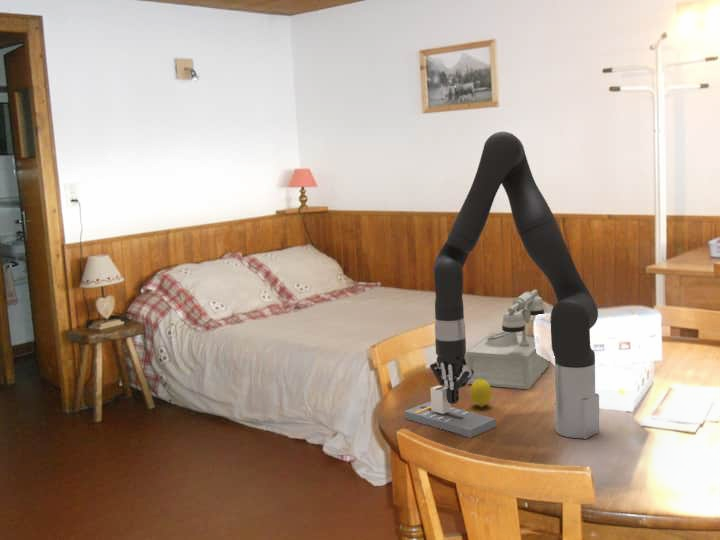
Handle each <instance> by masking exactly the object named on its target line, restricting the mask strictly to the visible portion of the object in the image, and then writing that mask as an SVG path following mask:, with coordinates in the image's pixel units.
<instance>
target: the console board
mask: <svg viewBox="0 0 720 540" xmlns="http://www.w3.org/2000/svg"><path fill="white" fill-rule="evenodd" d="M404 419H405V420H408V421H411V420H412V421H413V422H415V423H418V424H421V423H422V425H425V424H426V425H425V426H428V425H430V426H429V427H432V426H433V427H432V428H435V427H436V429H438V428H440V429H439V430H442V429H444V430H443V431H445V430H447V431H446V432H448V431H452V432H454V433H453V434H455V433H457V434H456V435H458V434H460V435H459V436H462V435H463V436H462V437H465V436H466V438H468V437H469V439H471V438H473V436H474V437H475V436H478V435H480V434H483V433H485V432H487V431H490V430H492V429H493V428H496V427H497V419H496V418H494V417H491V416H486V415H483V414H478V413H475V412H471V411H468V410H465V409H460V408H457V407H453V406H451V411H449V412H447V413H444V414H441V413H438V412H434V411H431V400H430V401H428V402H425V403H422V404H420V405H417V406H414V407H412V408H409V409H406V410H404ZM412 421H411V422H412ZM452 432H451V433H452ZM482 432H483V433H482Z"/></svg>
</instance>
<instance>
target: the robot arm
mask: <svg viewBox="0 0 720 540" xmlns="http://www.w3.org/2000/svg"><path fill="white" fill-rule="evenodd" d="M501 185H502V187H503V188H504V189H503V190H504V191H505V193H506V196H507V199H508V201H509V202H508V203H509V205H510V211H511V215H512V219H513V222H514V225H515V228H516V230H517V234H518V236H519V238H520V240H521V242H522V245H523V247H524V250H525V251H526V253H527V254H528V256H529V257H530V259H531V260H532V262H534V264H535V265H536V266H537V267H538V268H539V270H540V271H541V272H542V273H543V274H544V275H545V277H546V278H547V280H548V281H549V283H550V285H551V287H552V289H553V292H554V294H555V296H556V300H557V303H555V304H554V305H553V307H552V310H551V312H550V323H551V330H550V340H551V350H552V353H553V354H554V356H555V358H554V378H555V379H554V381H555V384H554V385H555V391H554V392H555V428H556V429H555V431H556V434H559V435H560V436H562V437H567V438H571V439H572V438H573V439H585V440H586V439H587V440H588V439H589V438H590V437H593V436H594V435H597V434H598V433H600V395H599V393H596V353H595V351H594V350H593V348H592V347H591V332H590V331H591V328H593V327H594V325H596V322H597V321H598V317H599V310H598V306H597V304H596V302H595V299H594V297H593V296H592V295H591V293H590V291H589V289H588V288H587V285H586V284H585V282H584V281H583V279H582V276H581V275H580V273H579V272H578V269H577V268H576V265H575V262H574V260H573V257H572V255H571V253H570V251H569V248H568V245H567V243H566V241H565V239H564V236H563V234H562V231H561V229H560V226H559V225H558V222H557V220H556V218H555V216H554V214H553V212H552V210H551V208H550V206H549V203H548V202H547V200H546V199H545V197H544V195H543V194H542V192H541V191H540V189H539V187H538V185H537V183H536V181H535V179H534V175H533V173H532V171H531V168H530V164H529V160H528V157H527V155H526V151H525V148H524V145H523V143H522V141H521V140H520V139H519V138H518V137H517V136H516V135H515V134H513V133H511V132H508V131H498V132H495V133H493V134H491V135H490V136H489V137H488V138H487V139H486V141H485V142H484V145H483V150H482V152H481V156H480V159H479V162H478V165H477V171H476V173H475V176H474V178H473V182H472V183H471V187H470V189H469V191H468V193H467V195H466V198H465V200H464V201H463V203H462V206H461V208H460V210H459V212H458V214H457V216H456V218H455V220H454V222H453V225H452V227H451V229H450V230H449V233H448V236H447V239H446V241H445V243H444V244H443V246H442V247H441V249H440V251H439V252H438V255H437V257H436V259H435V261H434V264H433V268H432V270H433V278H434V279H433V280H434V289H435V290H434V291H435V293H434V294H435V299H434V316H435V318H434V319H435V323H434V338H435V339H434V341H435V343H434V345H435V355H437V357H436V361H435V362H434V363H431V364H429V368H430V369H431V371H432V374H433V375H434V376H435V378H436V380H437V382H438V383H439V386H445V388H446V393H447V400H448V403H451V405H455V404H457V403H458V402H459V400H460V394H459V393H460V392H459V389H461V388H465V386H466V385H468V384H467V382H468V381H469V379H470V378H471V376H472V375H473V374H474V371H473V370H472V369H471V370H469V369H468V367H467V360H466V358H465V357H466V352H467V345H466V344H467V342H466V340H467V339H466V322H465V317H464V316H465V313H464V311H465V310H464V299H463V288H464V271H463V269H464V265H465V263H466V262H467V259H468V257H469V254H470V253H471V252H472V251H473V250H474V249H475V247H476V245H477V244H478V241H479V240H480V237H481V235H482V232H483V230H484V228H485V227H486V224H487V221H488V218H489V215H490V212H491V210H492V205H493V203H494V200H495V197H496V195H497V193H498V191H499V189H500V187H501Z"/></svg>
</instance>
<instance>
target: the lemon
mask: <svg viewBox="0 0 720 540" xmlns="http://www.w3.org/2000/svg"><path fill="white" fill-rule="evenodd" d="M469 394H470V399H471V401H472V402H473V403H474V404H475V405H477V406H478V407H480V408H483V407H484V406H487V404H488V403H489V402H490V401H491V399H492V389H491V386H490V385H489V383H488V382H487V381H485V380H483V379H482V378H479V379H478V380H476V381H475V382H474V383H473V384H471V387H470V393H469Z"/></svg>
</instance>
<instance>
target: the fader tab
mask: <svg viewBox="0 0 720 540" xmlns="http://www.w3.org/2000/svg"><path fill="white" fill-rule="evenodd" d="M430 401H431V411H434V412H438V413H441V414H444V413H447V412H449V411H451V407H452V404H451V403H448V400H447V393H446V388H445V386H444V385H440V384H439V385H436V386H433V387H431V388H430Z"/></svg>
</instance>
